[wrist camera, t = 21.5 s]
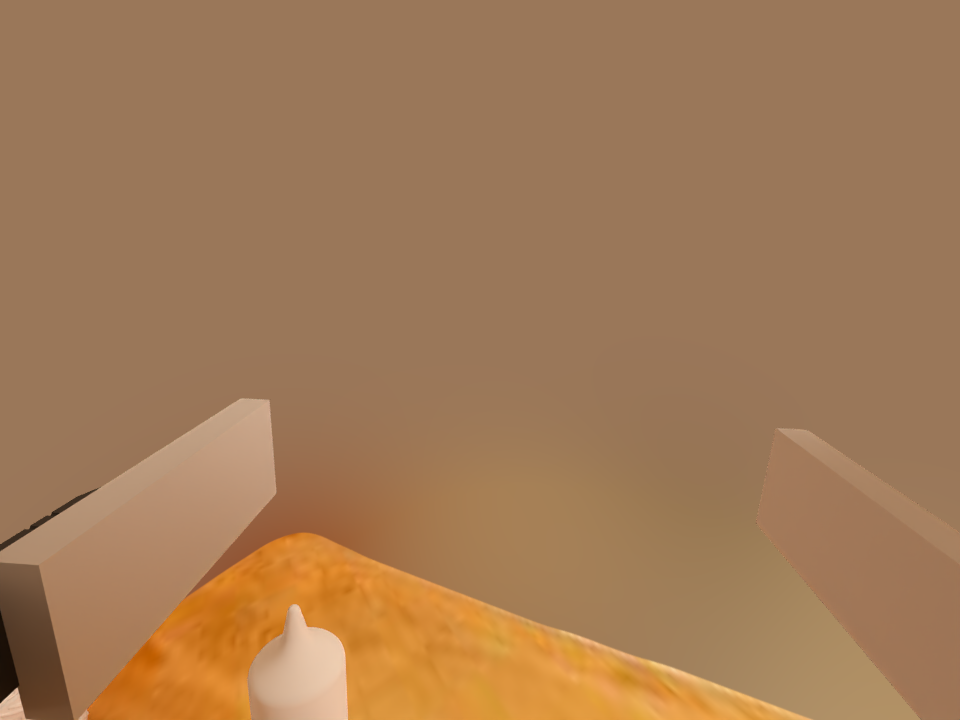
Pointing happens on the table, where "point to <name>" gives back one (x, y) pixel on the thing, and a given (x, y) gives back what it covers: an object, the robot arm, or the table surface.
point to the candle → (299, 675)
